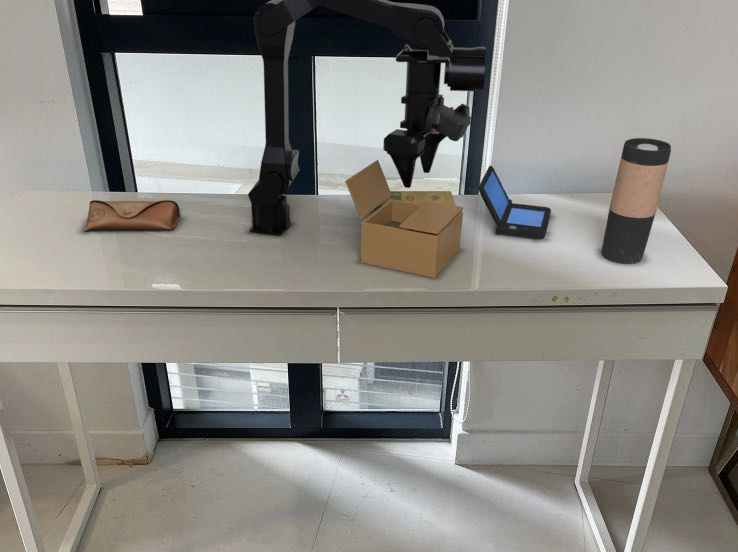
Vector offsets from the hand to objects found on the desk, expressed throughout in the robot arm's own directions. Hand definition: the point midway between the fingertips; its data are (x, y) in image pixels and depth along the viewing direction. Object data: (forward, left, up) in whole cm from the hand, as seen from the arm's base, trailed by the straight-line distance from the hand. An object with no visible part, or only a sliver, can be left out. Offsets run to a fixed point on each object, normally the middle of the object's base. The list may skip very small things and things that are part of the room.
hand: (417, 179), depth 132 cm
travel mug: (+38, +1, -11) cm, 40 cm away
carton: (-2, +10, -11) cm, 15 cm away
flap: (-7, -7, 0) cm, 10 cm away
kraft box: (+1, -9, -11) cm, 14 cm away
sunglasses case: (-55, -8, -11) cm, 57 cm away
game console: (+18, +12, -11) cm, 24 cm away
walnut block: (-2, -8, -11) cm, 14 cm away
